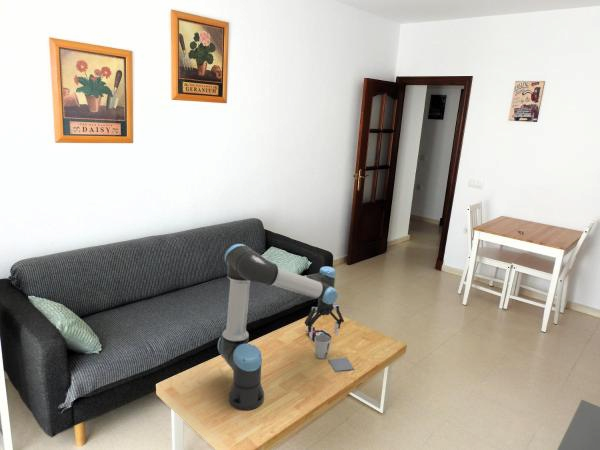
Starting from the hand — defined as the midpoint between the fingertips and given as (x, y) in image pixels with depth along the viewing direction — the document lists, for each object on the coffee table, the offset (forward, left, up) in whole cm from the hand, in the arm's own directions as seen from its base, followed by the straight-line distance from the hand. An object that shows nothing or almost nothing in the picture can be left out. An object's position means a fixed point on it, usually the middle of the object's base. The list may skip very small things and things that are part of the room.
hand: (323, 335), depth 223 cm
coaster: (+7, -10, -11) cm, 17 cm away
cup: (0, 0, -12) cm, 12 cm away
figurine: (+3, +18, -12) cm, 21 cm away
